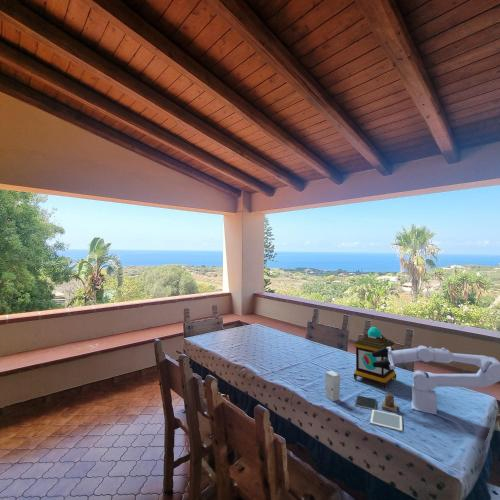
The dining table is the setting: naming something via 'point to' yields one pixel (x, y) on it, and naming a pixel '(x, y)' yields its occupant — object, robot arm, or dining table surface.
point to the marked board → (386, 420)
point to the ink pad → (366, 402)
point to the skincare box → (332, 386)
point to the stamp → (389, 403)
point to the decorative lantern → (366, 358)
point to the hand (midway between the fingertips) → (372, 359)
